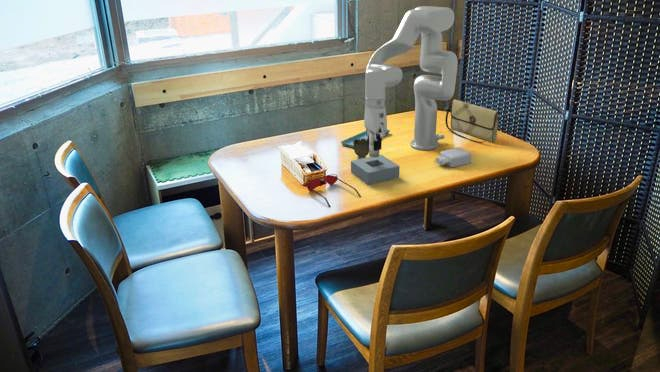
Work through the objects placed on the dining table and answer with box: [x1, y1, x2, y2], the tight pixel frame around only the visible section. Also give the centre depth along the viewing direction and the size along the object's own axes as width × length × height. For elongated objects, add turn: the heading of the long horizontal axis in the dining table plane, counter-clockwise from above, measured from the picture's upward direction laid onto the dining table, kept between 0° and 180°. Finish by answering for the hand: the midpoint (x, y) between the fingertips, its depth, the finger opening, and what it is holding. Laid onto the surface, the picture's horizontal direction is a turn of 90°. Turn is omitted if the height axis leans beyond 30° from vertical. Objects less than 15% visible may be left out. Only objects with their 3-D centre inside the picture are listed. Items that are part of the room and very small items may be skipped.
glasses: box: [305, 173, 362, 208], centre depth 202 cm, size 14×16×5 cm
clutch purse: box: [445, 98, 500, 144], centre depth 252 cm, size 30×7×15 cm, turn 35°
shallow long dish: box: [340, 128, 391, 149], centre depth 255 cm, size 26×9×2 cm, turn 138°
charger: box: [433, 147, 473, 168], centre depth 226 cm, size 5×9×15 cm
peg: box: [368, 131, 380, 157], centre depth 212 cm, size 4×4×10 cm
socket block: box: [350, 154, 401, 186], centre depth 217 cm, size 14×14×5 cm
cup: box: [353, 138, 369, 159], centre depth 233 cm, size 8×7×8 cm
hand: (374, 147), depth 213 cm, fingers closed on peg, 4 cm apart
